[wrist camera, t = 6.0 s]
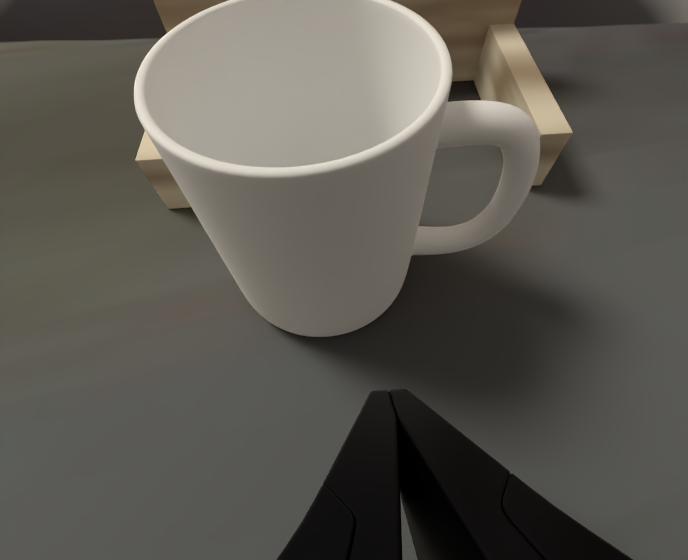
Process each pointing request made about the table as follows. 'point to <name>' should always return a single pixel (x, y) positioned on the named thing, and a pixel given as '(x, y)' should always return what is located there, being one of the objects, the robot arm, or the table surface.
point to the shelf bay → (467, 64)
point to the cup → (321, 149)
